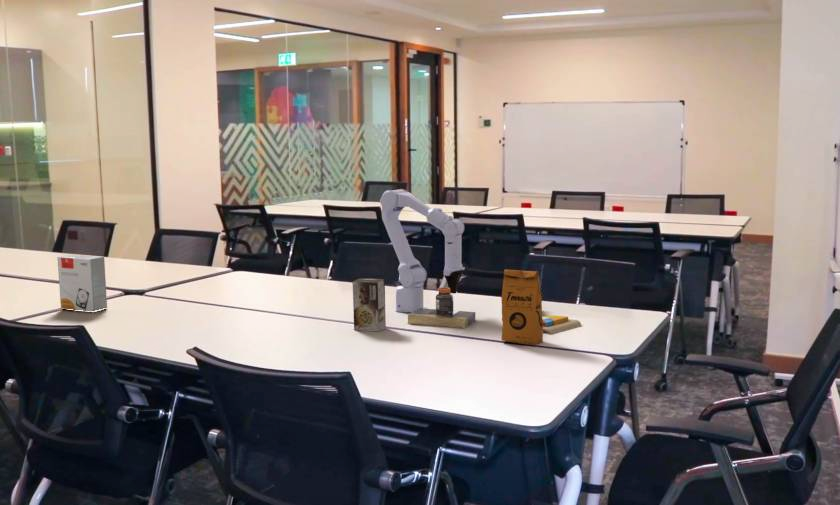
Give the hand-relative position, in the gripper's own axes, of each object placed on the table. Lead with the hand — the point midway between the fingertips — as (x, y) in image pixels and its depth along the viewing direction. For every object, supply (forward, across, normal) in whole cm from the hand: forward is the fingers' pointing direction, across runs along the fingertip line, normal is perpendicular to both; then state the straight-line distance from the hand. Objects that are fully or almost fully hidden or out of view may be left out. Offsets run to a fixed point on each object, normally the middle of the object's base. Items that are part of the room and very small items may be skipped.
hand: (453, 293), depth 280 cm
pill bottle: (+8, -10, 0) cm, 13 cm away
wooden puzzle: (+8, -6, -33) cm, 35 cm away
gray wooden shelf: (+8, -12, 0) cm, 14 cm away
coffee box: (+8, -29, +19) cm, 35 cm away
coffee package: (+8, -30, -32) cm, 44 cm away
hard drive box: (+9, -36, +131) cm, 136 cm away
